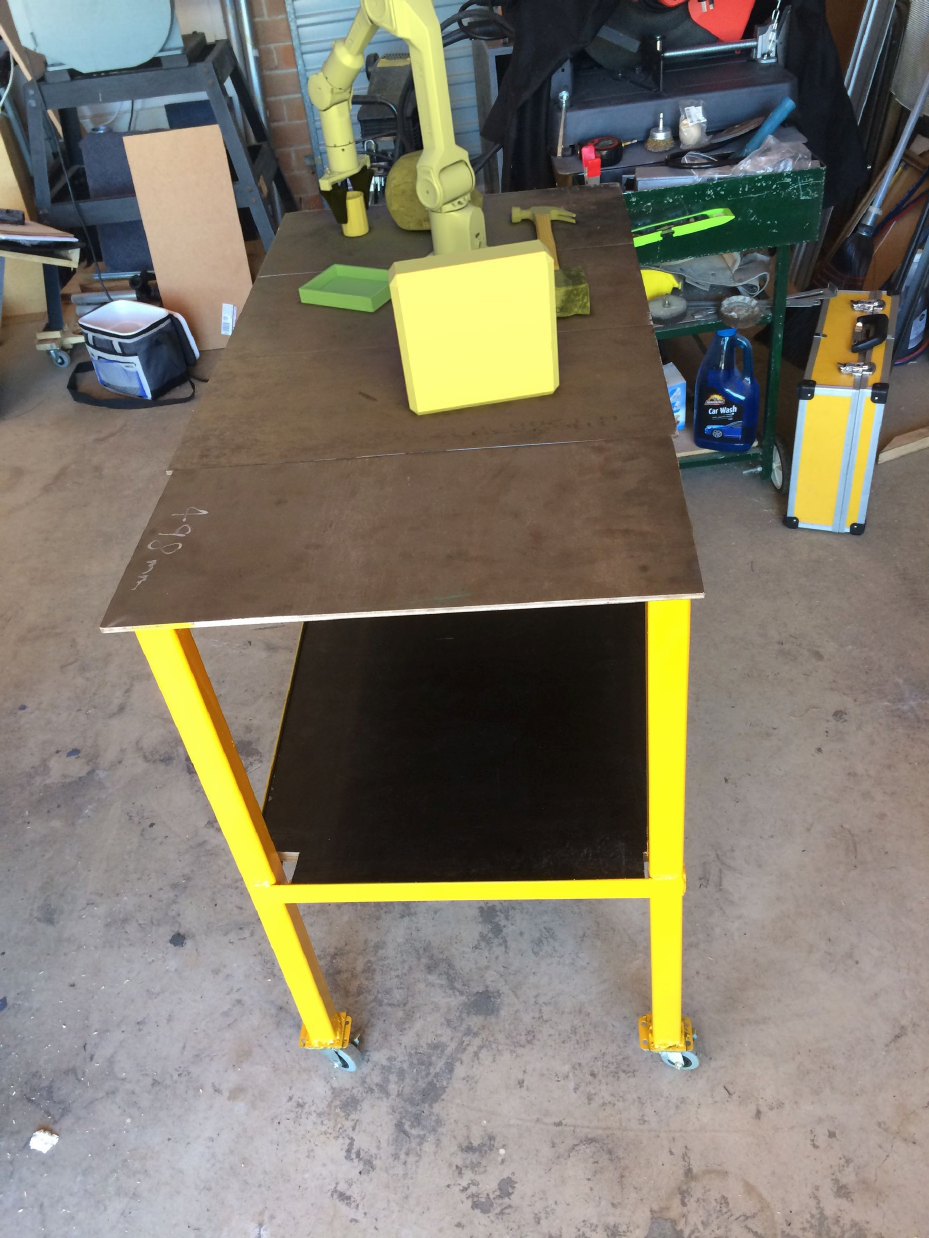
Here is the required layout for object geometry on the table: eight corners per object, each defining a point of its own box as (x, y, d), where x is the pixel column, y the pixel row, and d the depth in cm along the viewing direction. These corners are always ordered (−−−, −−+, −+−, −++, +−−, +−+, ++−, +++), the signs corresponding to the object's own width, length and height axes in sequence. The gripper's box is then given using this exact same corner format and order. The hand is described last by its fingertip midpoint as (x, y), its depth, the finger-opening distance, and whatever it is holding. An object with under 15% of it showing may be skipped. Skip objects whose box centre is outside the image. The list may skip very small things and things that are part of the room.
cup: (374, 228, 188) (368, 191, 184) (359, 237, 185) (353, 201, 180) (353, 226, 190) (346, 190, 186) (338, 235, 187) (331, 199, 183)
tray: (407, 285, 165) (405, 271, 163) (373, 312, 158) (370, 298, 156) (337, 277, 171) (334, 263, 170) (301, 302, 164) (298, 288, 163)
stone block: (496, 303, 155) (493, 272, 152) (582, 293, 155) (582, 261, 151) (499, 326, 149) (496, 294, 145) (590, 315, 148) (589, 283, 145)
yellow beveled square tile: (550, 371, 136) (543, 231, 123) (561, 397, 130) (555, 253, 117) (407, 393, 136) (384, 256, 122) (412, 421, 130) (388, 280, 116)
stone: (386, 236, 184) (373, 155, 174) (396, 223, 189) (384, 143, 179) (479, 234, 179) (471, 150, 169) (487, 220, 184) (479, 138, 174)
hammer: (585, 278, 160) (573, 216, 183) (586, 261, 159) (573, 201, 181) (516, 281, 161) (511, 219, 183) (515, 265, 159) (511, 204, 181)
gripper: (344, 130, 183) (356, 202, 192) (300, 153, 174) (316, 228, 183) (374, 131, 180) (385, 204, 189) (331, 155, 171) (345, 231, 180)
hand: (353, 216), depth 186 cm, fingers open, 7 cm apart
